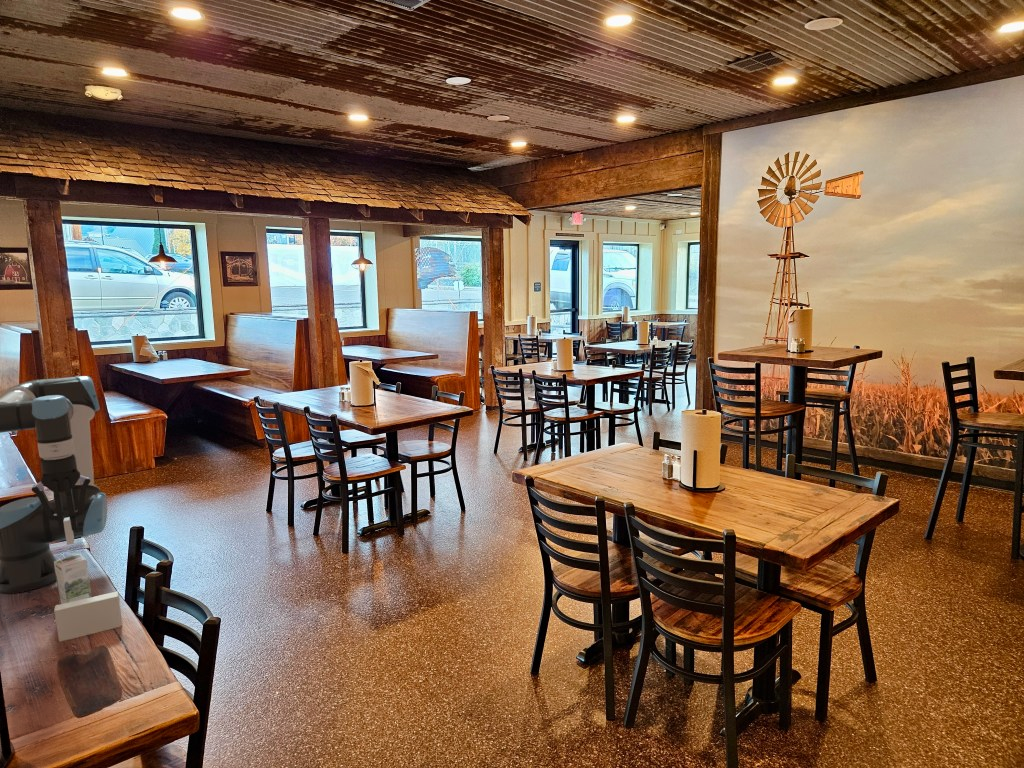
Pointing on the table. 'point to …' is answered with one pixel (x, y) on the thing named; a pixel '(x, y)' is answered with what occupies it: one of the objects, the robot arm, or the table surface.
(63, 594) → the syrup box
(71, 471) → the robot arm
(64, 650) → the table surface
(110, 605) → the board
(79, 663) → the wooden tablet
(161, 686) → the table surface
